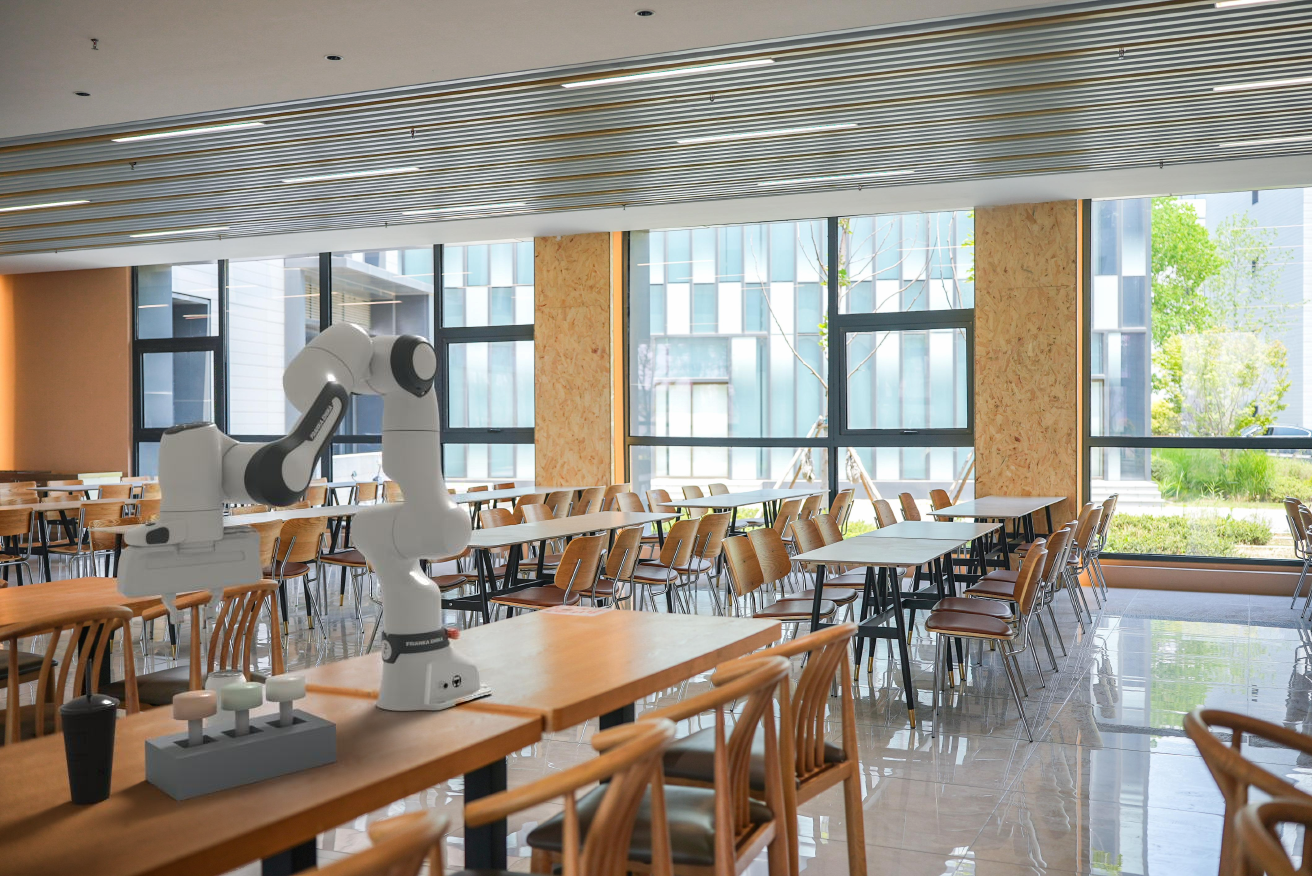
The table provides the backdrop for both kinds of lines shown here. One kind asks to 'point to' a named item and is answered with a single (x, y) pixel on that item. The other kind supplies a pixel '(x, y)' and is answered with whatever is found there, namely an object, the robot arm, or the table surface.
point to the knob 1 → (195, 712)
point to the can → (215, 684)
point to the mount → (238, 754)
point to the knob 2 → (285, 694)
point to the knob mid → (241, 703)
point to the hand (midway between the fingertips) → (193, 620)
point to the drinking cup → (89, 743)
